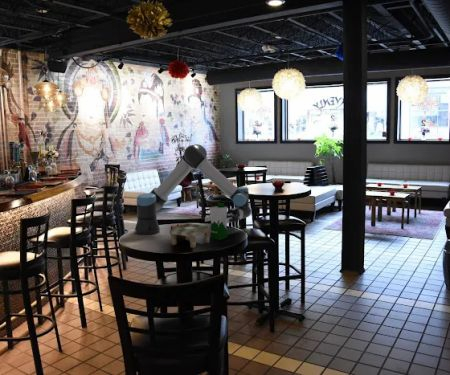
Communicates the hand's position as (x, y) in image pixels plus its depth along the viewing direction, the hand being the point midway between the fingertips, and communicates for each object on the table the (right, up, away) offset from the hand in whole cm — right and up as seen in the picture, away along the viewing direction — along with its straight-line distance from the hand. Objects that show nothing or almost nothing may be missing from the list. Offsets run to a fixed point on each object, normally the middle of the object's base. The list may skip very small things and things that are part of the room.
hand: (215, 220), depth 262 cm
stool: (-14, -12, -8) cm, 20 cm away
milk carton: (+2, -11, +4) cm, 12 cm away
